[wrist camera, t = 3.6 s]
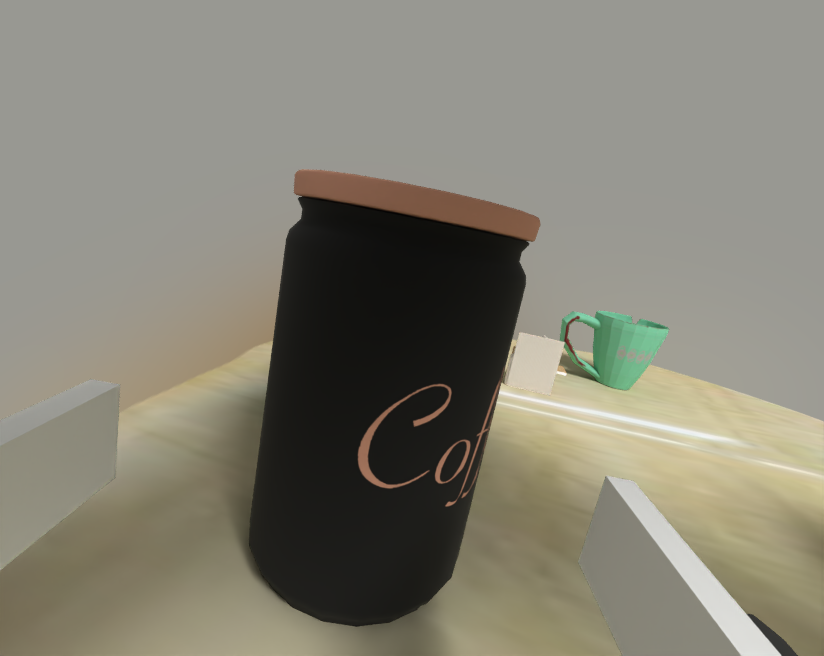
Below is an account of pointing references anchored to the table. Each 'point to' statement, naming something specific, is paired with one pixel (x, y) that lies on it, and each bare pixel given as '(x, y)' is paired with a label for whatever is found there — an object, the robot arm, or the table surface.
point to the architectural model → (534, 363)
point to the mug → (616, 346)
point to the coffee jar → (381, 391)
